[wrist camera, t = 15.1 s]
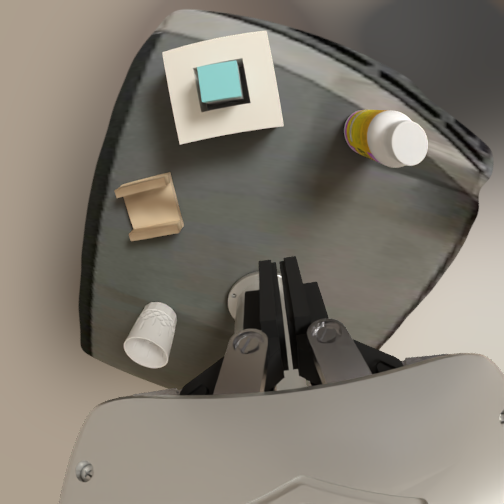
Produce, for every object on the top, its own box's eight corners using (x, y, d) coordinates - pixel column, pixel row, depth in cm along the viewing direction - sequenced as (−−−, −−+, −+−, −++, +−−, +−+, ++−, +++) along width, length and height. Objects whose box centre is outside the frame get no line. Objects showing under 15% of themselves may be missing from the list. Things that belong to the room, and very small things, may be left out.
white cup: (173, 297, 47) (158, 337, 38) (185, 329, 50) (174, 368, 42) (135, 299, 47) (116, 336, 39) (149, 330, 51) (135, 367, 42)
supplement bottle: (338, 148, 35) (375, 165, 23) (347, 104, 31) (388, 101, 20) (379, 159, 35) (426, 182, 24) (388, 118, 32) (440, 124, 21)
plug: (244, 100, 31) (241, 95, 24) (213, 105, 31) (201, 102, 24) (240, 72, 29) (236, 60, 22) (209, 77, 29) (197, 67, 22)
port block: (279, 124, 33) (283, 126, 28) (191, 140, 34) (179, 144, 29) (264, 43, 28) (266, 30, 22) (176, 61, 29) (162, 52, 23)
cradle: (184, 225, 40) (179, 233, 38) (138, 233, 41) (131, 242, 38) (170, 172, 36) (163, 176, 34) (123, 184, 37) (114, 189, 34)
